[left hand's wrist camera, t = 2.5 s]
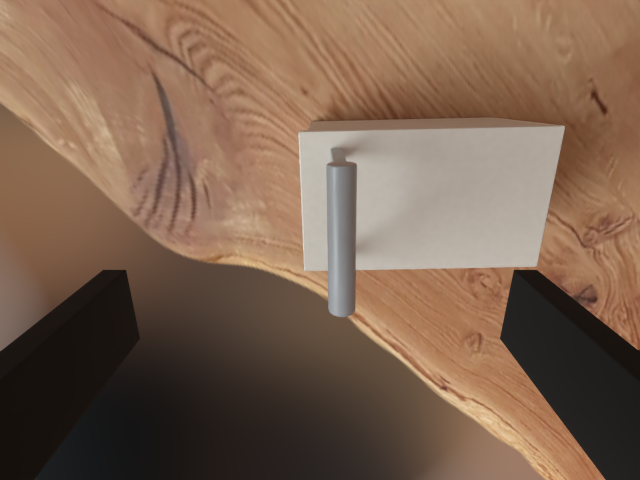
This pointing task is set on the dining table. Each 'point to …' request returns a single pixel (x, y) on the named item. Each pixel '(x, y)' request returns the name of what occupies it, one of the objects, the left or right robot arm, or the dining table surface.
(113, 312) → the left robot arm
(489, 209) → the lid
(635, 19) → the dining table surface
